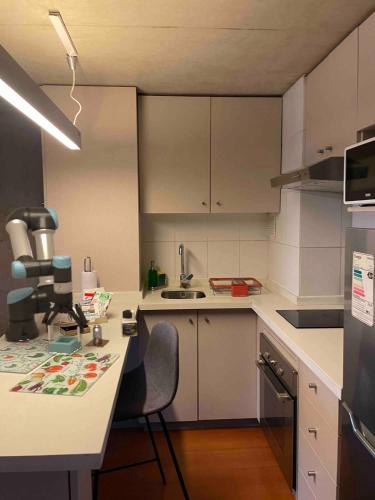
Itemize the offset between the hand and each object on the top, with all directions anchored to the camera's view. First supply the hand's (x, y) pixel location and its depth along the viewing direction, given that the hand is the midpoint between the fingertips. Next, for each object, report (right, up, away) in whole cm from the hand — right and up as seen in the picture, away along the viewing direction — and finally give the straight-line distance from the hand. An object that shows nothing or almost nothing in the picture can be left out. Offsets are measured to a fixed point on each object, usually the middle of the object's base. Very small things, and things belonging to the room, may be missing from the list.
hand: (65, 340), depth 160 cm
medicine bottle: (+24, -3, +23) cm, 33 cm away
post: (+11, -4, +10) cm, 16 cm away
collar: (0, -5, +1) cm, 5 cm away
